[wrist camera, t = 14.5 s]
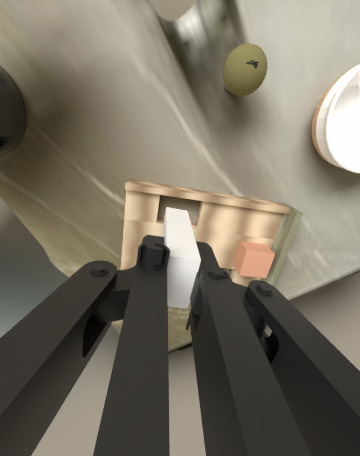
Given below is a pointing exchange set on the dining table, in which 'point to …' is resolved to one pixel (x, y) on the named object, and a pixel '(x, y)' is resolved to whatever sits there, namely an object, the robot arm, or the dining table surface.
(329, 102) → the bowl
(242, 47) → the light bulb
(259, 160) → the dining table surface
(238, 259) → the block
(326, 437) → the robot arm
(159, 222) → the box
